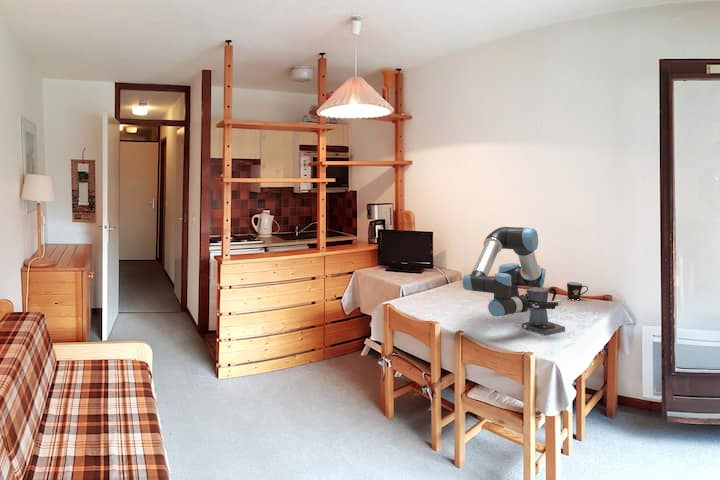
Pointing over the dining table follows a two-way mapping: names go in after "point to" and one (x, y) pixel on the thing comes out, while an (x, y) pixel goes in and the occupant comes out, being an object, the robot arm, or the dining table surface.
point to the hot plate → (544, 328)
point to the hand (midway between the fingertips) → (549, 299)
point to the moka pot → (540, 295)
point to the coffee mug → (574, 290)
